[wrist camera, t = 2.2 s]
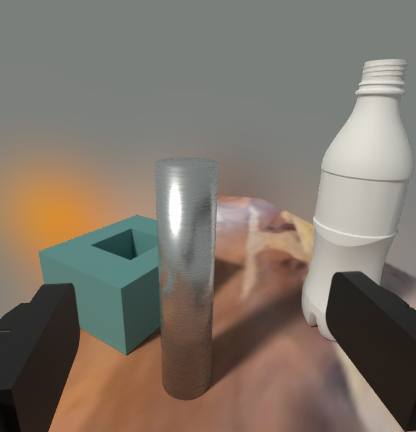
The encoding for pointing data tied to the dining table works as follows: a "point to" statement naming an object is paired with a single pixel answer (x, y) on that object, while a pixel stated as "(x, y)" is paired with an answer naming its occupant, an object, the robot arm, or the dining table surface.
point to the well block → (111, 280)
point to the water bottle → (360, 189)
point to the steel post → (186, 271)
